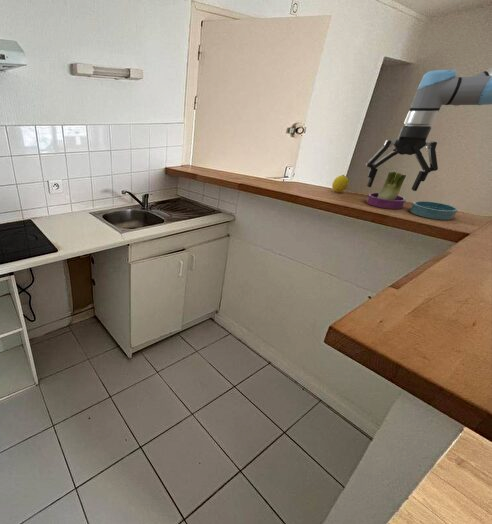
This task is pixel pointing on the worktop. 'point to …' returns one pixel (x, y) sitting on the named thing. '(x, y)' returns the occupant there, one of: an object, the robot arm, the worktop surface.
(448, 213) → the teal bowl
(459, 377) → the worktop surface
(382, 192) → the fennel bulb
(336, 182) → the lemon
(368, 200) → the plum bowl
